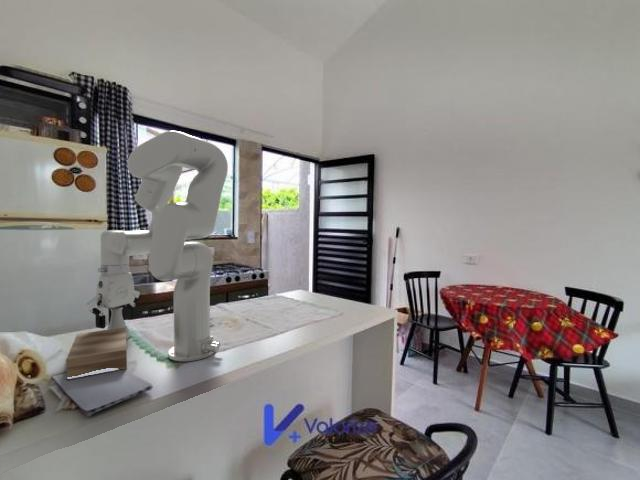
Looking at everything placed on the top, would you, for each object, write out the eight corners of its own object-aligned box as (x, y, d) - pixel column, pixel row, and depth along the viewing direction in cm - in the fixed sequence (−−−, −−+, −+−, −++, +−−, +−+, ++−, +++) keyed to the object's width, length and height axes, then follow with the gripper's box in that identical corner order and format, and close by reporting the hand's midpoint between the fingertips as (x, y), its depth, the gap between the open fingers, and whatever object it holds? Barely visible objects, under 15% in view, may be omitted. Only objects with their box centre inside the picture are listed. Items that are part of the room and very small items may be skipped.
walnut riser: (77, 351, 92) (77, 333, 92) (126, 343, 98) (126, 327, 98) (66, 380, 75) (66, 359, 75) (126, 368, 81) (126, 349, 81)
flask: (117, 344, 98) (117, 311, 97) (97, 342, 99) (96, 310, 99) (135, 336, 105) (135, 305, 104) (116, 334, 106) (116, 304, 106)
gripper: (97, 274, 92) (97, 333, 93) (147, 267, 108) (147, 317, 109) (78, 272, 94) (79, 329, 95) (130, 265, 110) (130, 314, 111)
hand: (115, 323), depth 102 cm, fingers open, 9 cm apart
